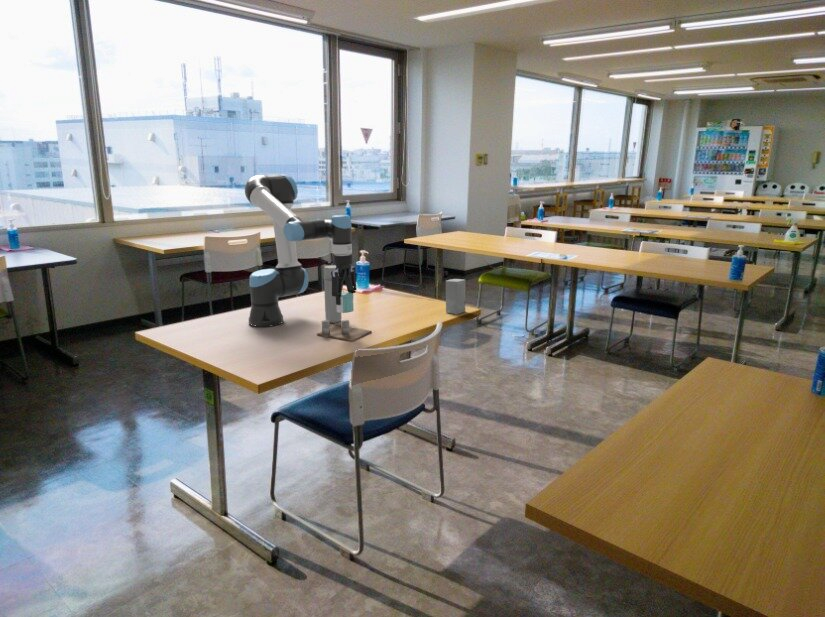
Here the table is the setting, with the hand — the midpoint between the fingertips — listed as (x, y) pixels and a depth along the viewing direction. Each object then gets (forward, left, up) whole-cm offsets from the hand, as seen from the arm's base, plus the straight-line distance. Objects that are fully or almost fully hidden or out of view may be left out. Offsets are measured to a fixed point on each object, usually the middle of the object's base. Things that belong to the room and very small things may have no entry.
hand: (345, 310), depth 227 cm
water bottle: (-17, +16, -11) cm, 26 cm away
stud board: (-2, +2, -11) cm, 12 cm away
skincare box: (+24, +56, -11) cm, 62 cm away
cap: (0, 0, 0) cm, 0 cm away
